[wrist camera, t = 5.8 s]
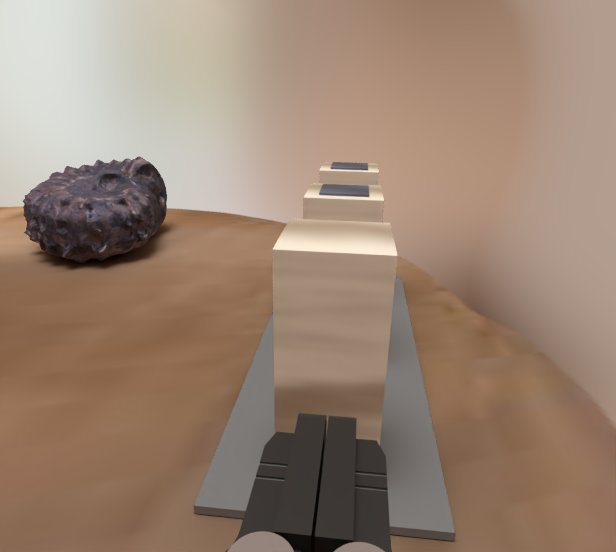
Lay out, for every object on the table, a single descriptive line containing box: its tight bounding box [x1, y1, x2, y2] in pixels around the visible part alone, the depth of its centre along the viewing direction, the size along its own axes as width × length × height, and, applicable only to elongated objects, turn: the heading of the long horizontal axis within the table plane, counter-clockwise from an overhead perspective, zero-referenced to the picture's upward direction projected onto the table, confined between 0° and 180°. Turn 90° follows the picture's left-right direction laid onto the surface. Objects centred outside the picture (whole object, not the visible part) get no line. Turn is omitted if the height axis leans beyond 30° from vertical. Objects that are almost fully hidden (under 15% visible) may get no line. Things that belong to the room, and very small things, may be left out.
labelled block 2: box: [303, 183, 384, 223], centre depth 33 cm, size 5×5×12 cm
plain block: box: [273, 219, 397, 445], centre depth 23 cm, size 5×5×12 cm
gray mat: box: [194, 277, 455, 541], centre depth 36 cm, size 31×12×1 cm, turn 174°
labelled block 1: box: [319, 162, 379, 186], centre depth 44 cm, size 5×5×12 cm
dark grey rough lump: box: [23, 157, 167, 263], centre depth 58 cm, size 20×13×15 cm
